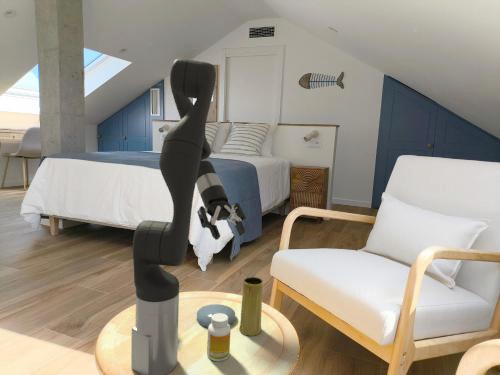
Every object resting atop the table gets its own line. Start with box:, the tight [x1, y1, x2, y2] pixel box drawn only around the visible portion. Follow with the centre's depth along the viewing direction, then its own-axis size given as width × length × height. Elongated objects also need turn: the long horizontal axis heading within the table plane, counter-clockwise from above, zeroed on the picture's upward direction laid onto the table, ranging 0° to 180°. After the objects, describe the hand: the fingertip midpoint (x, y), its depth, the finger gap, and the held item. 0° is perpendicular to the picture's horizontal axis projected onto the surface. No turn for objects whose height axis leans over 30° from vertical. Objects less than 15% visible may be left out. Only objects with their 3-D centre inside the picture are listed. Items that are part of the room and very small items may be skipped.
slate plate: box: [196, 303, 236, 329], centre depth 101 cm, size 11×11×2 cm
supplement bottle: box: [206, 313, 232, 362], centre depth 84 cm, size 5×5×10 cm
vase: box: [239, 276, 264, 337], centre depth 95 cm, size 6×6×14 cm
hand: (230, 236), depth 102 cm, fingers open, 8 cm apart
